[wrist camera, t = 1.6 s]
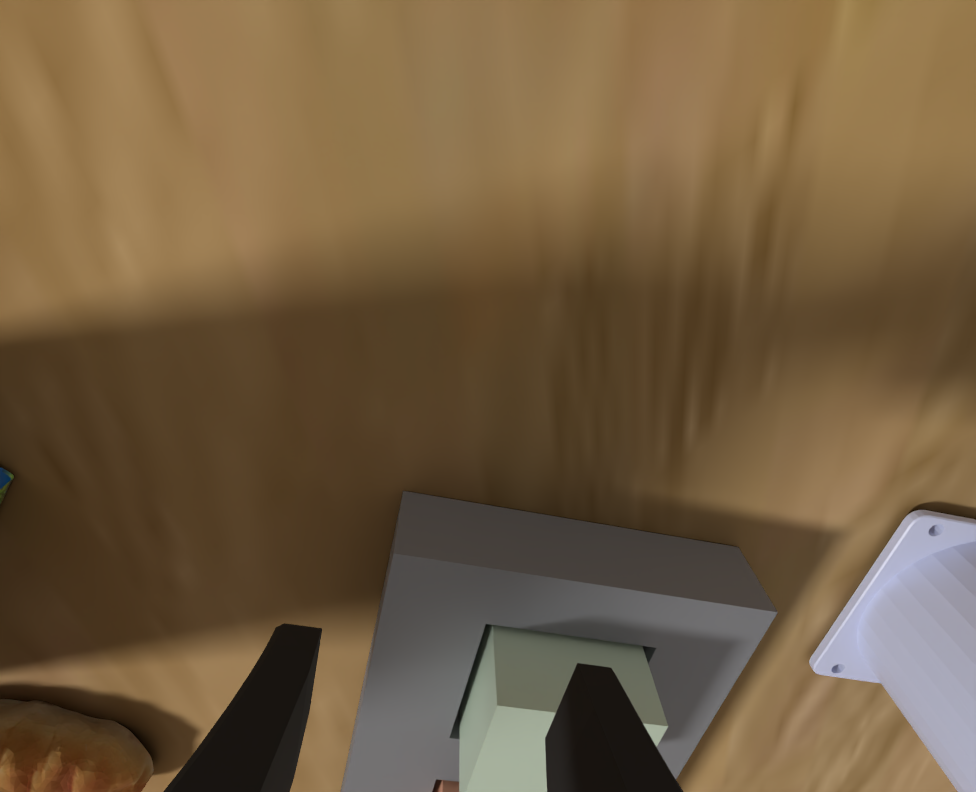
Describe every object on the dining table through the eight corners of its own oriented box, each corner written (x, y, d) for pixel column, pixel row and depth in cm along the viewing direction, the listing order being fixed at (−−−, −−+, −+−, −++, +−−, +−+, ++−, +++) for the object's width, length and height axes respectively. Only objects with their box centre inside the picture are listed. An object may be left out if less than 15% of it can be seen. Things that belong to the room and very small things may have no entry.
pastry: (146, 687, 24) (93, 787, 20) (173, 788, 27) (131, 889, 24) (-105, 683, 23) (-202, 785, 20) (-48, 786, 26) (-124, 890, 23)
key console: (738, 546, 21) (777, 612, 19) (542, 913, 33) (549, 987, 30) (403, 490, 20) (393, 553, 17) (318, 896, 31) (305, 972, 28)
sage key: (632, 616, 21) (668, 726, 17) (589, 710, 23) (612, 825, 19) (491, 595, 20) (497, 705, 16) (459, 694, 22) (459, 810, 19)
